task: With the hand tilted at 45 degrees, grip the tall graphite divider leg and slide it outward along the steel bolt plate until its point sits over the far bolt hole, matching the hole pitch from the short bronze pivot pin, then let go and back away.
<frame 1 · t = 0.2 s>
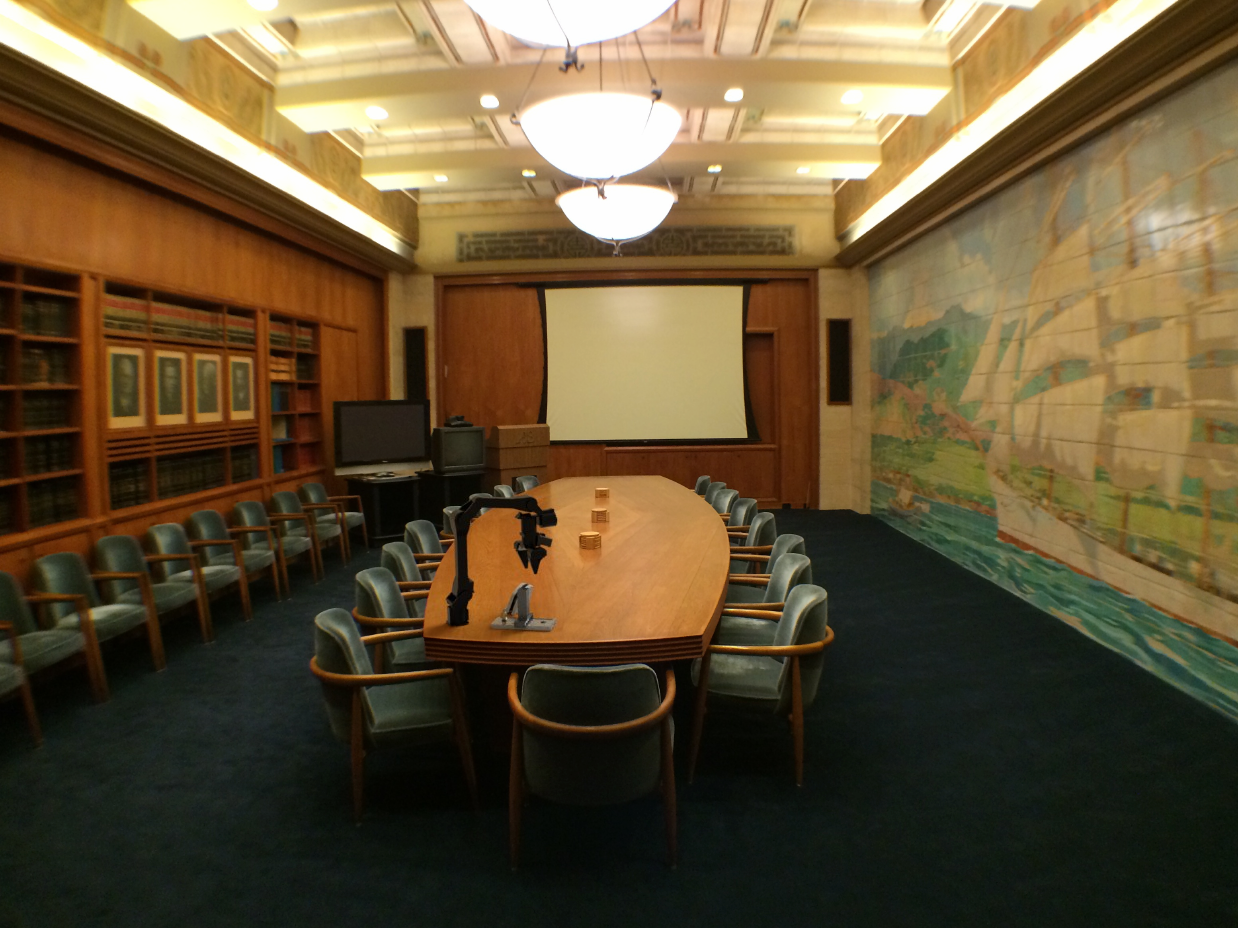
hand: (530, 571, 254), 15 cm above the table, tool pointing down, fingers open, 9 cm apart
hinge: (519, 608, 259), on the table
bolt plate: (524, 625, 239), on the table
divider leg: (523, 605, 239), point 7 cm above the table, slide at 0.0 cm
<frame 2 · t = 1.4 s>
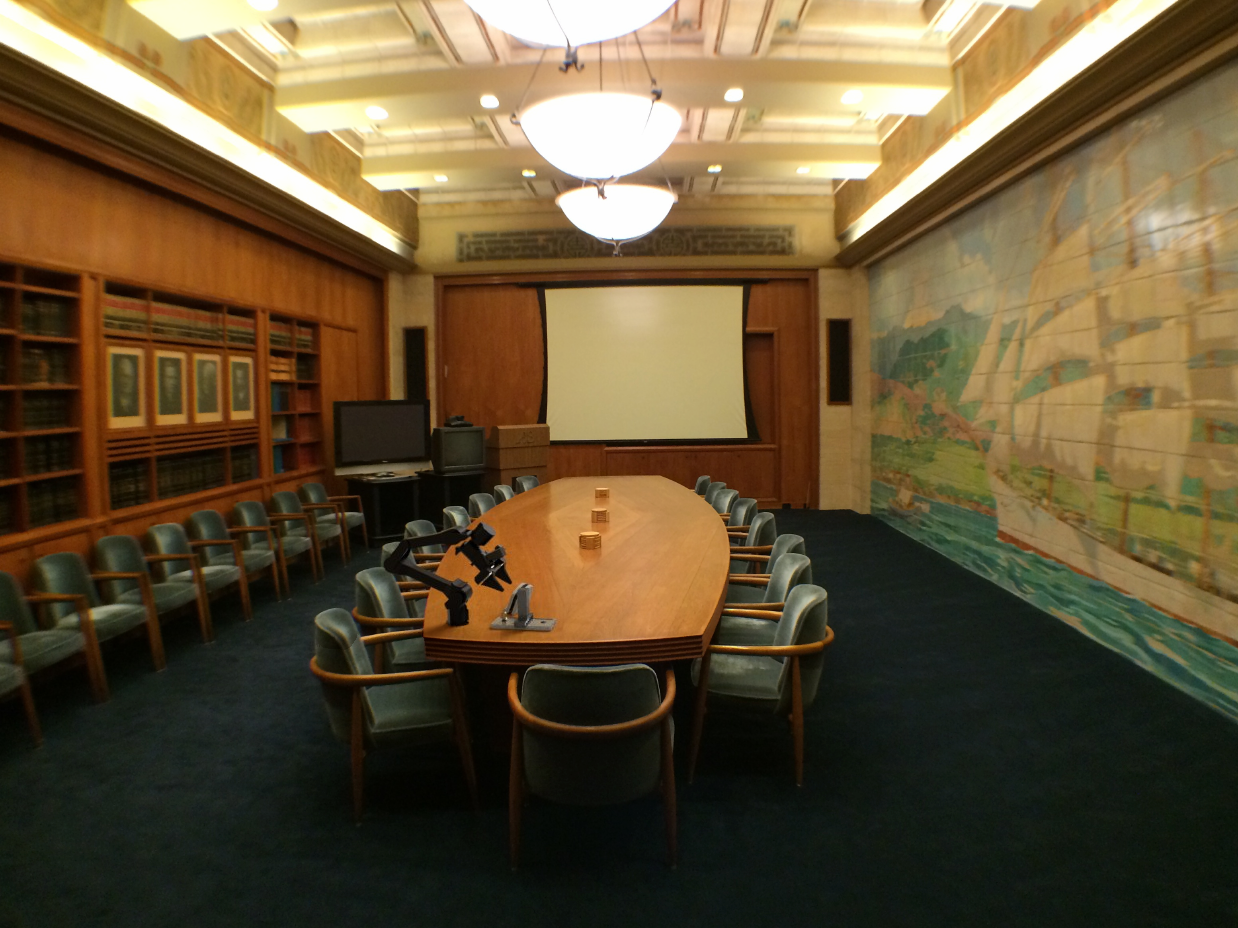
hand: (507, 587, 239), 13 cm above the table, tool tilted 45°, fingers open, 9 cm apart
nothing on the table moved.
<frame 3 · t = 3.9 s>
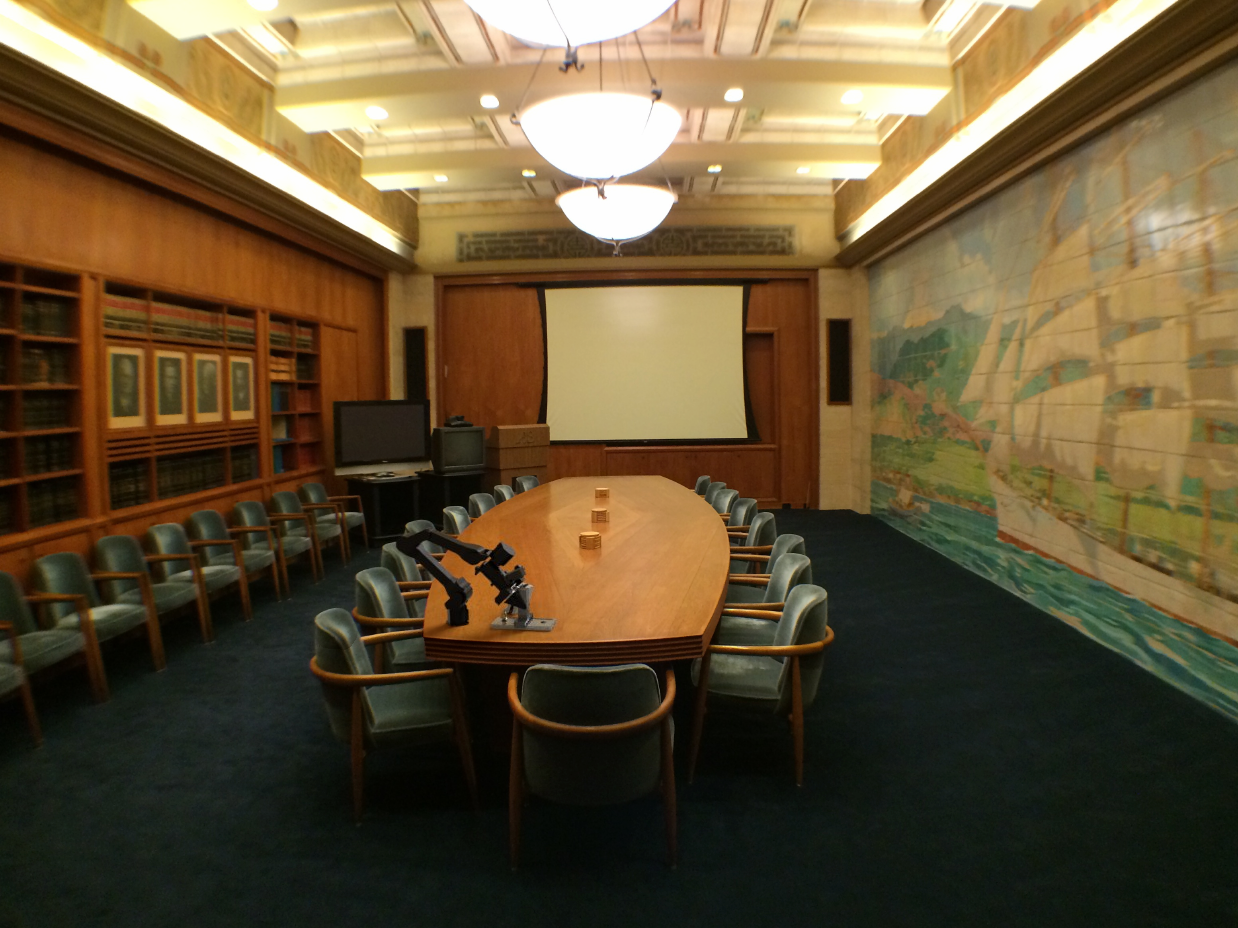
hand: (527, 607, 238), 7 cm above the table, tool tilted 45°, fingers closed on divider leg, 3 cm apart
divider leg: (523, 605, 239), point 7 cm above the table, slide at 0.0 cm, touching gripper
everything else where it was.
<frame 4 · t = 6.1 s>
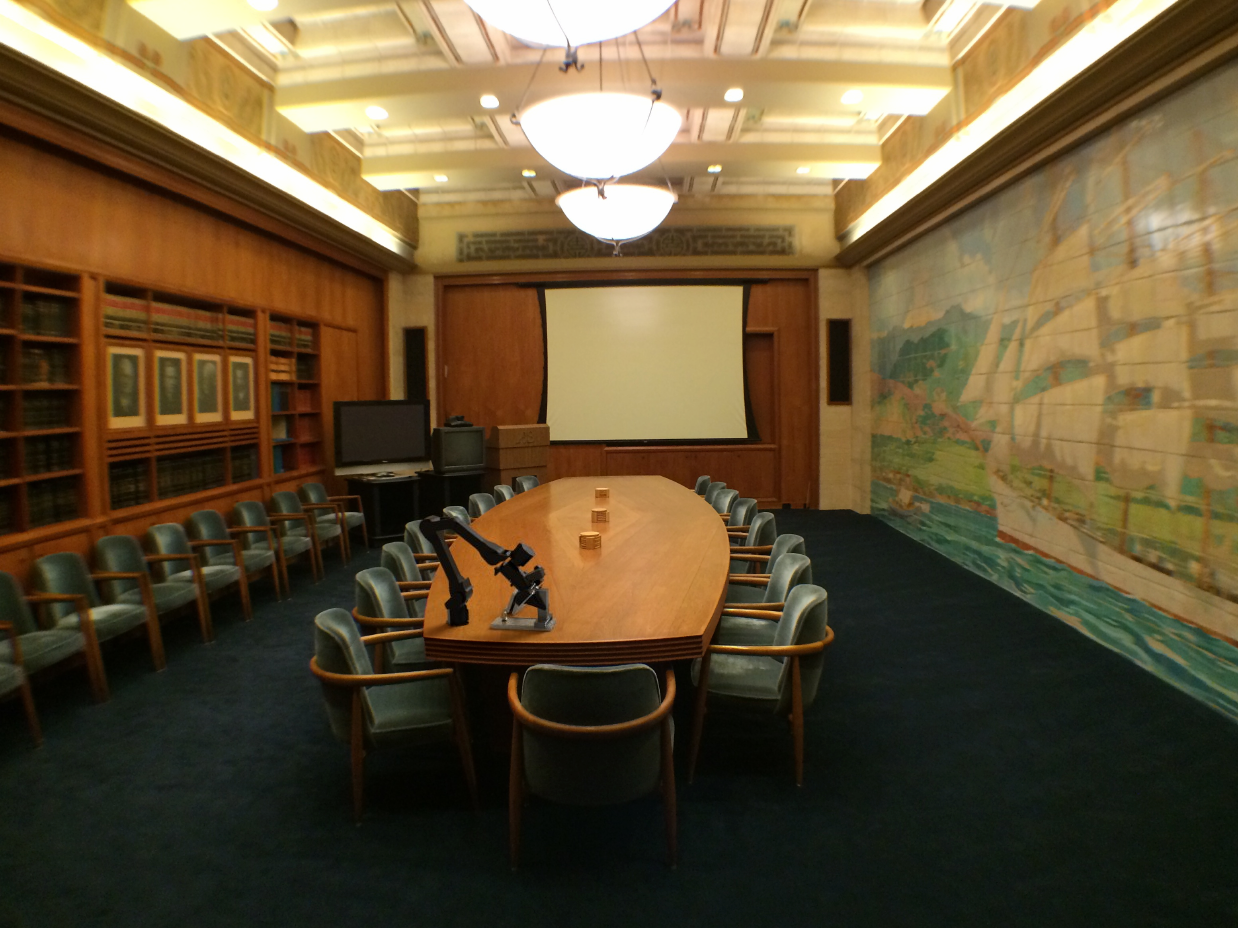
hand: (547, 607, 237), 7 cm above the table, tool tilted 45°, fingers closed on divider leg, 3 cm apart
divider leg: (543, 606, 238), point 7 cm above the table, slide at 6.9 cm, touching gripper
everything else where it was.
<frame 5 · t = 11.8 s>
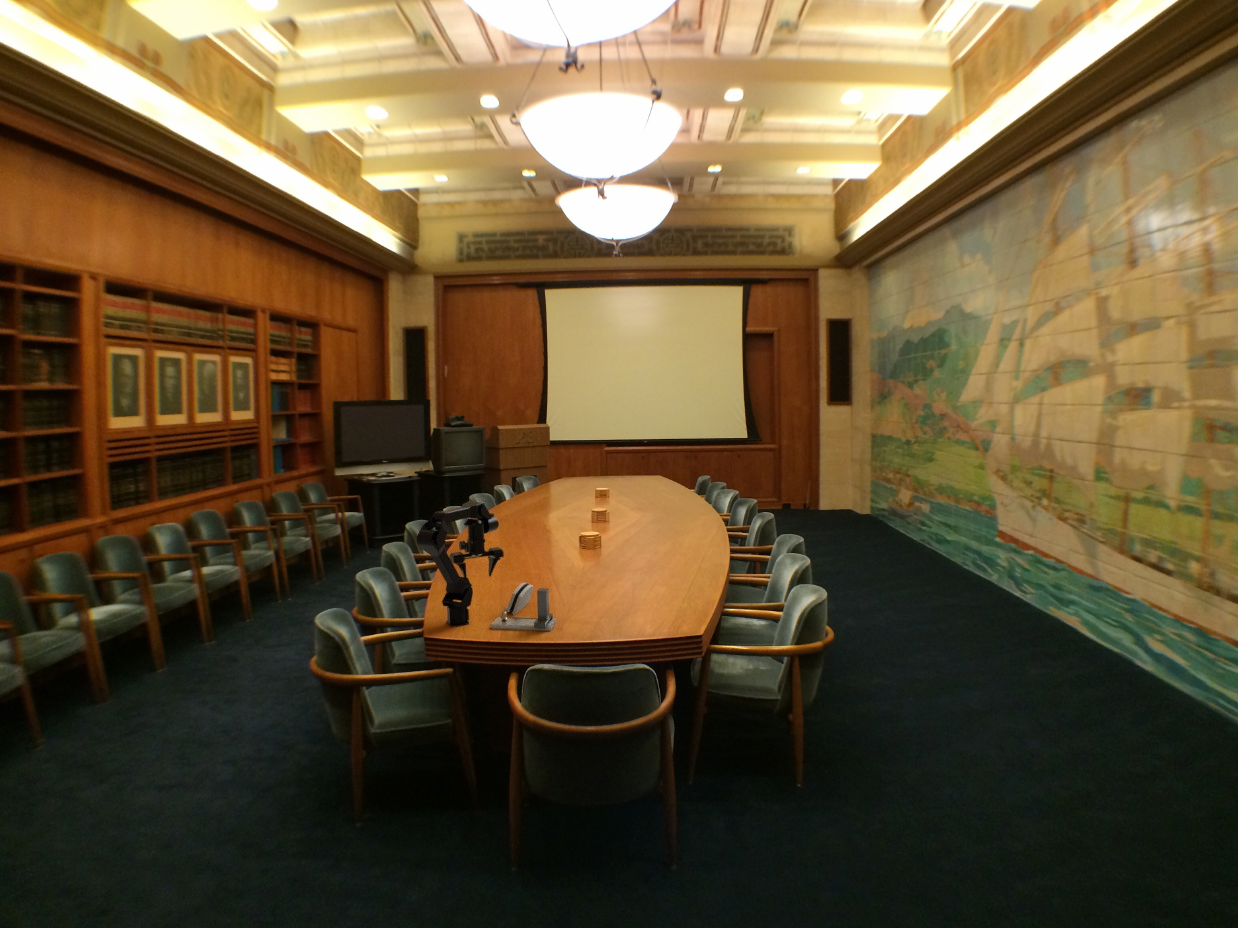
hand: (477, 578, 252), 13 cm above the table, tool pointing down, fingers open, 9 cm apart
divider leg: (543, 606, 238), point 7 cm above the table, slide at 7.0 cm
everything else where it was.
at the end: divider leg slide at 7.0 cm; the gripper is holding nothing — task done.
